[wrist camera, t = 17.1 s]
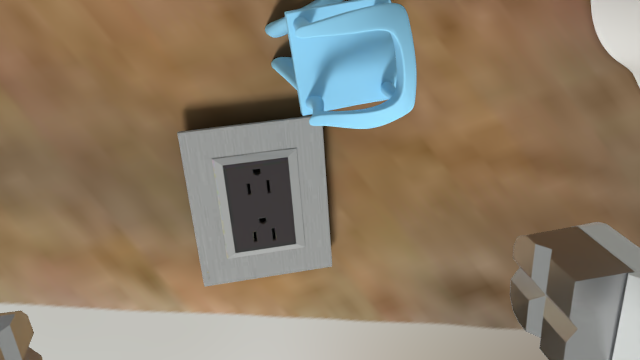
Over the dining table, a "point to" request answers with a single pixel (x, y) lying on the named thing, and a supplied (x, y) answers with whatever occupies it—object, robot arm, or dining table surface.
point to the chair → (349, 61)
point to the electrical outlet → (257, 198)
